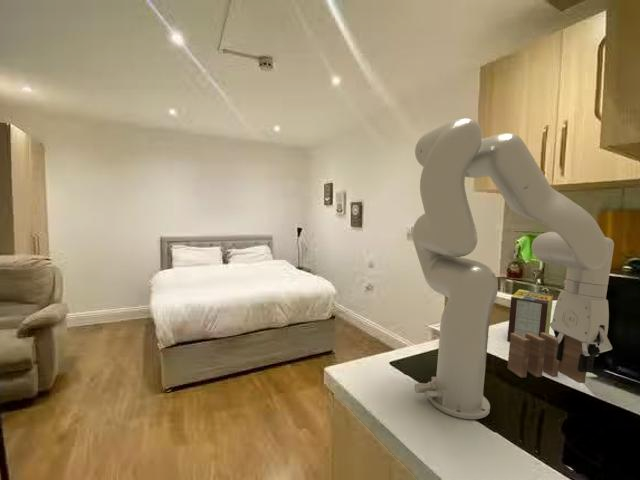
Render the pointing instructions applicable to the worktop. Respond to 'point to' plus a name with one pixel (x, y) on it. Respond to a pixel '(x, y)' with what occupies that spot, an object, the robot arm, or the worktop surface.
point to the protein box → (530, 313)
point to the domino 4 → (572, 359)
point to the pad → (590, 375)
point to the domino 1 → (518, 355)
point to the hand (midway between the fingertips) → (573, 365)
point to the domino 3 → (550, 355)
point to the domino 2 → (536, 354)
